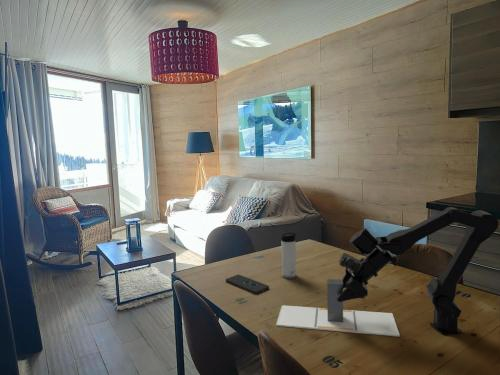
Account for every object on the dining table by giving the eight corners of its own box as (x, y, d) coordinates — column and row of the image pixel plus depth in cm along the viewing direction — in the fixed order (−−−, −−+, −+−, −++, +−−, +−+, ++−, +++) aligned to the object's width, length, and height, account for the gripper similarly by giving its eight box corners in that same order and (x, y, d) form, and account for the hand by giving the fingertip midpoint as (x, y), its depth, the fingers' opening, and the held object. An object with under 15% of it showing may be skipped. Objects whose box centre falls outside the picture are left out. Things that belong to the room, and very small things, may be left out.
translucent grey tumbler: (342, 316, 118) (342, 279, 117) (343, 322, 114) (342, 284, 113) (327, 315, 119) (327, 278, 118) (327, 321, 116) (327, 283, 114)
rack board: (392, 314, 119) (392, 313, 119) (399, 336, 106) (399, 334, 106) (282, 306, 128) (282, 305, 128) (276, 325, 115) (276, 324, 115)
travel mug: (296, 279, 154) (295, 235, 151) (281, 278, 155) (280, 234, 153) (297, 274, 160) (296, 231, 158) (283, 273, 161) (281, 231, 159)
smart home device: (255, 291, 139) (224, 278, 154) (255, 295, 139) (224, 282, 154) (270, 285, 145) (238, 273, 159) (270, 289, 145) (238, 277, 160)
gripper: (352, 238, 122) (321, 267, 125) (356, 255, 104) (319, 288, 107) (376, 261, 121) (343, 289, 125) (384, 282, 103) (345, 314, 106)
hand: (337, 294), depth 116 cm, fingers open, 9 cm apart
